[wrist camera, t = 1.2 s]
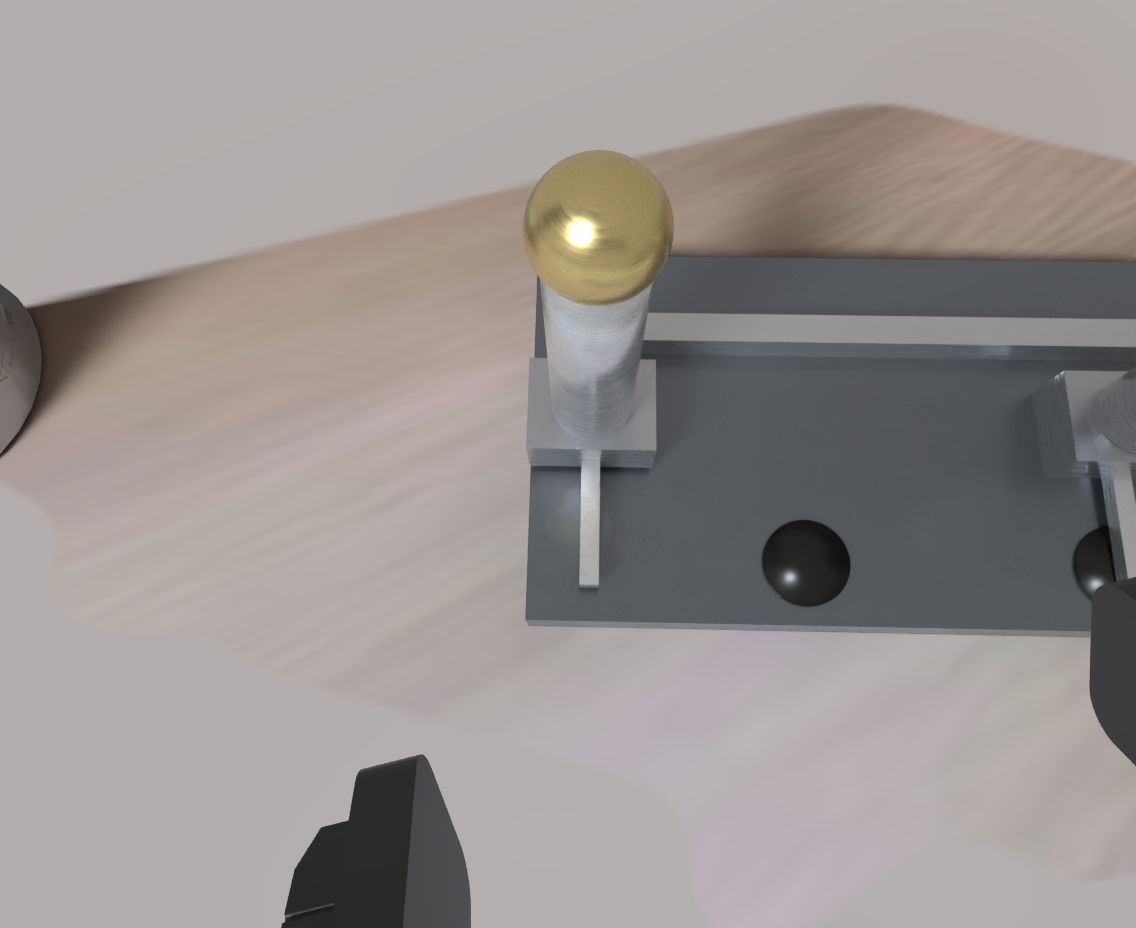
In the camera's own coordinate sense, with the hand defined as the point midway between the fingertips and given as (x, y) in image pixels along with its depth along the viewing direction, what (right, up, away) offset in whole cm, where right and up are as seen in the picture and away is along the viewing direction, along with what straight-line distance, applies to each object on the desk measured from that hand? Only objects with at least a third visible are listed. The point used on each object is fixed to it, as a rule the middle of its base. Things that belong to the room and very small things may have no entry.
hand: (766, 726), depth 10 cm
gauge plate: (+7, +4, +21) cm, 22 cm away
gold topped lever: (-2, +3, +18) cm, 18 cm away
